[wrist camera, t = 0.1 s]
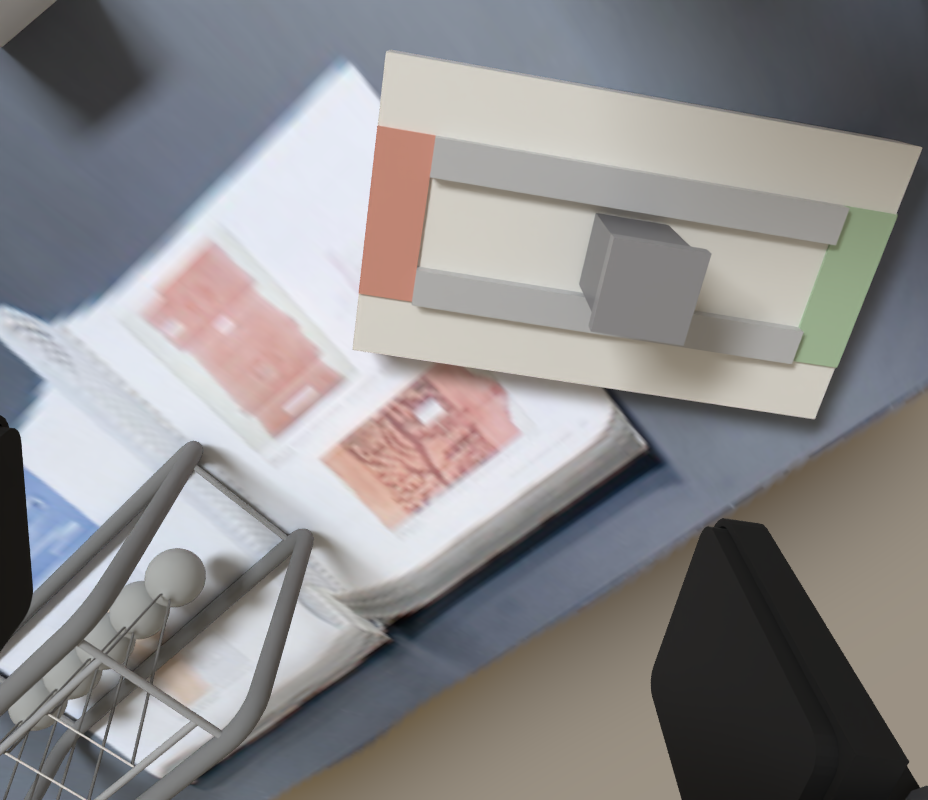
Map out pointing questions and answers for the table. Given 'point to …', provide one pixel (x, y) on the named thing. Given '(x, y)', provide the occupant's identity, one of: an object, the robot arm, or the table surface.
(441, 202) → the slider rail board
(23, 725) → the newton's cradle
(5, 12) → the white cube
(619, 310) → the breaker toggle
